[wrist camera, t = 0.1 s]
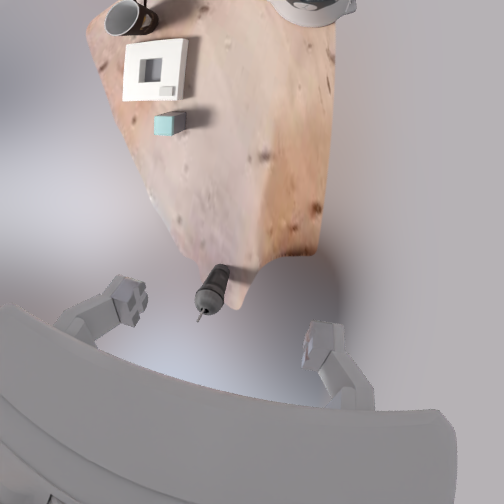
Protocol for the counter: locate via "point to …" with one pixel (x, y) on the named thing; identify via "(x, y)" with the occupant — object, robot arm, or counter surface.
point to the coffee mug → (130, 19)
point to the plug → (169, 123)
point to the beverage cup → (212, 291)
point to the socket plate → (155, 70)
